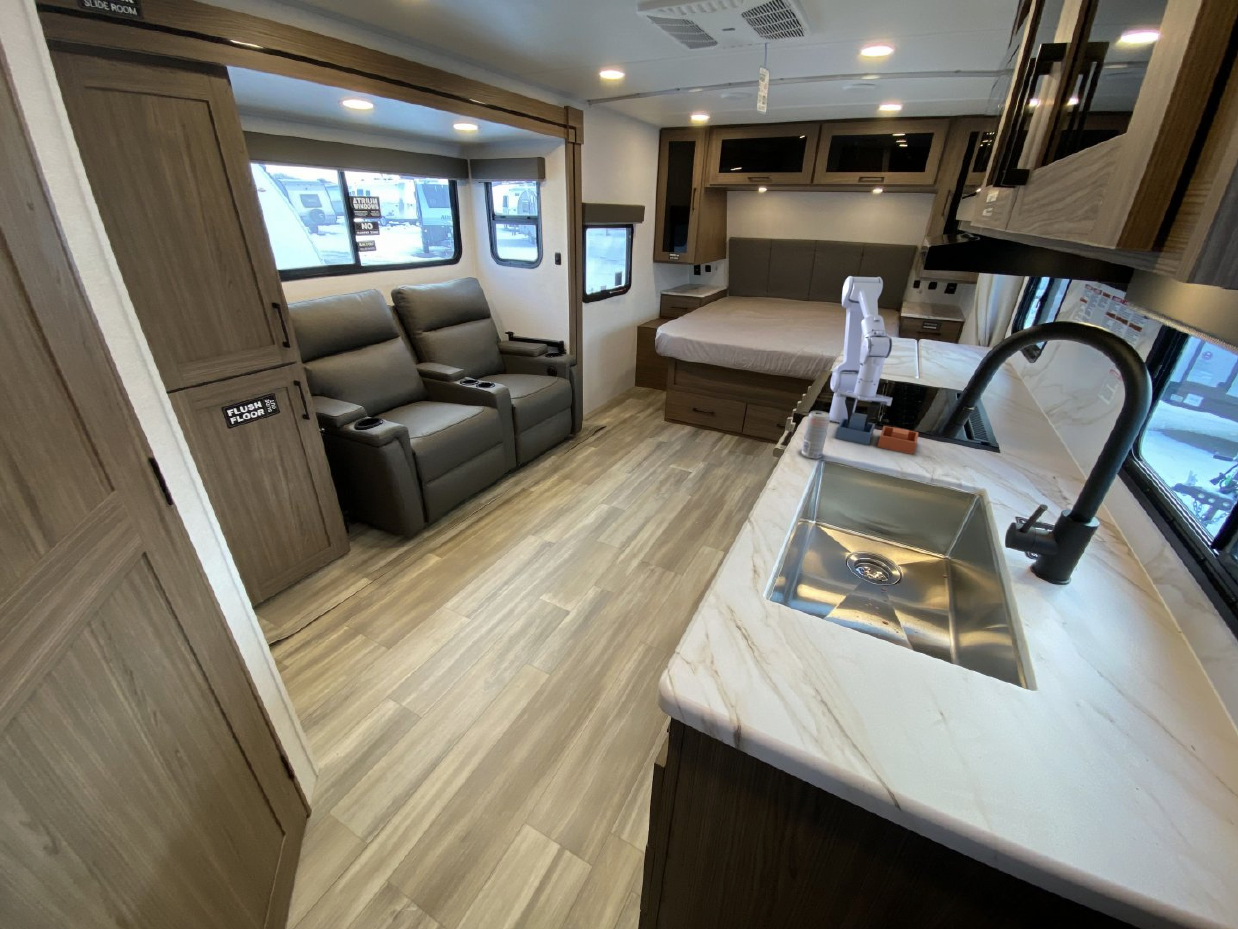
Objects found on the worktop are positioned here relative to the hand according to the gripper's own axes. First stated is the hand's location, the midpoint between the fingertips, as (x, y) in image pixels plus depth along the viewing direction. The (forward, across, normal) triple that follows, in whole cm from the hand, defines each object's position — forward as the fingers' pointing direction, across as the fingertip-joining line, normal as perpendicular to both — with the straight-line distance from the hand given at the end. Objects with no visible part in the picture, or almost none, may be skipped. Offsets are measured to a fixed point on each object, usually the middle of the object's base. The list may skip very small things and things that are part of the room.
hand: (857, 423), depth 146 cm
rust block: (+4, +12, 0) cm, 12 cm away
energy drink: (+4, -8, -21) cm, 23 cm away
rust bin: (+4, +12, 0) cm, 12 cm away
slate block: (+1, 0, 0) cm, 1 cm away
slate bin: (+4, 0, 0) cm, 4 cm away
